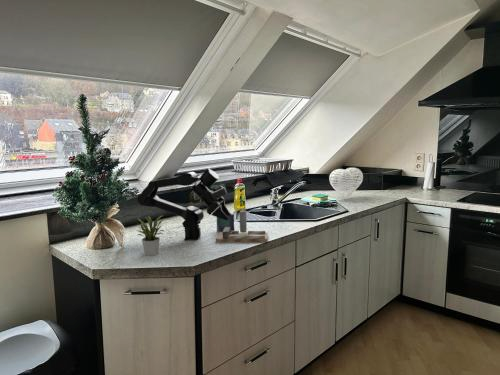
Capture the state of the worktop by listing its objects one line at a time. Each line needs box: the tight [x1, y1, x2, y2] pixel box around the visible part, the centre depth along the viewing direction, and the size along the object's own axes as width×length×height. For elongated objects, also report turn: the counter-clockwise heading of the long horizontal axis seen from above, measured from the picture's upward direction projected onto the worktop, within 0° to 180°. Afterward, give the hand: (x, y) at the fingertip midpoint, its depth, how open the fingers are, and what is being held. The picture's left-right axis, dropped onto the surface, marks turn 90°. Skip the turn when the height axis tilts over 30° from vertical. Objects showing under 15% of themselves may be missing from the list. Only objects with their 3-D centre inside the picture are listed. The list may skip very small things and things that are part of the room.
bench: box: [215, 227, 269, 243], centre depth 177 cm, size 23×11×4 cm, turn 86°
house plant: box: [136, 214, 166, 256], centre depth 158 cm, size 14×14×16 cm
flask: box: [216, 212, 235, 233], centre depth 191 cm, size 9×3×11 cm, turn 72°
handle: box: [238, 210, 249, 235], centre depth 176 cm, size 4×7×11 cm, turn 176°
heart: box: [329, 167, 364, 200], centre depth 272 cm, size 28×16×22 cm, turn 129°
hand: (228, 217), depth 177 cm, fingers open, 9 cm apart
